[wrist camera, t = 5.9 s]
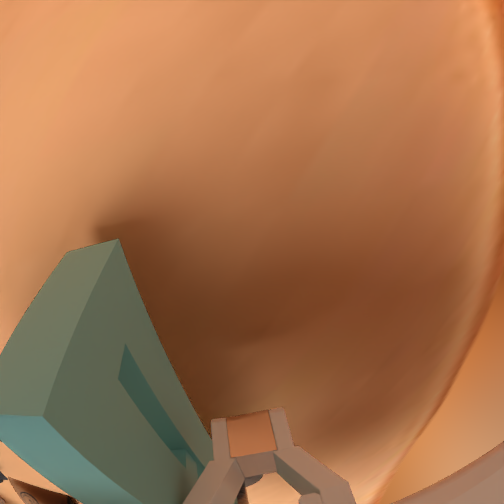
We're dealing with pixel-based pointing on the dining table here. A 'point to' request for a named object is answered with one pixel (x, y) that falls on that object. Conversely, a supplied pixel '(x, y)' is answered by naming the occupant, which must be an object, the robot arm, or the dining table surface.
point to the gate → (99, 390)
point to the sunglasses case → (38, 494)
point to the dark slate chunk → (2, 477)
